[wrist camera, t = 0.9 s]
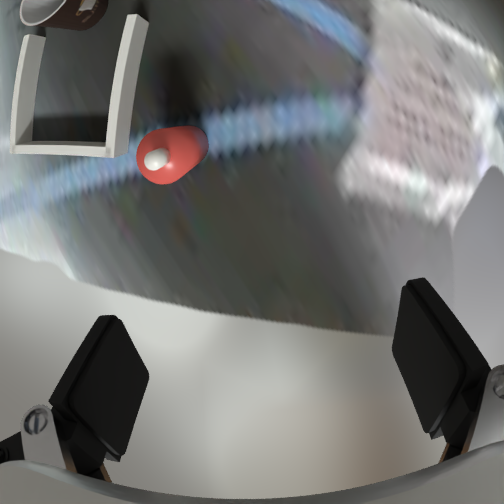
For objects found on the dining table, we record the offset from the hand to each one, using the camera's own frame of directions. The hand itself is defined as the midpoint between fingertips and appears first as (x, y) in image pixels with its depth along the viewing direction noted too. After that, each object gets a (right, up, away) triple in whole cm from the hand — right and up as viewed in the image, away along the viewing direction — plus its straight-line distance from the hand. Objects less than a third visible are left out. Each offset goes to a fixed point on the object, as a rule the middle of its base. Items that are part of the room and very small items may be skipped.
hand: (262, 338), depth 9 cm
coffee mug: (-21, +36, +14) cm, 44 cm away
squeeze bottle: (-8, +15, +24) cm, 29 cm away
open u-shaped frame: (-23, +24, +20) cm, 39 cm away
